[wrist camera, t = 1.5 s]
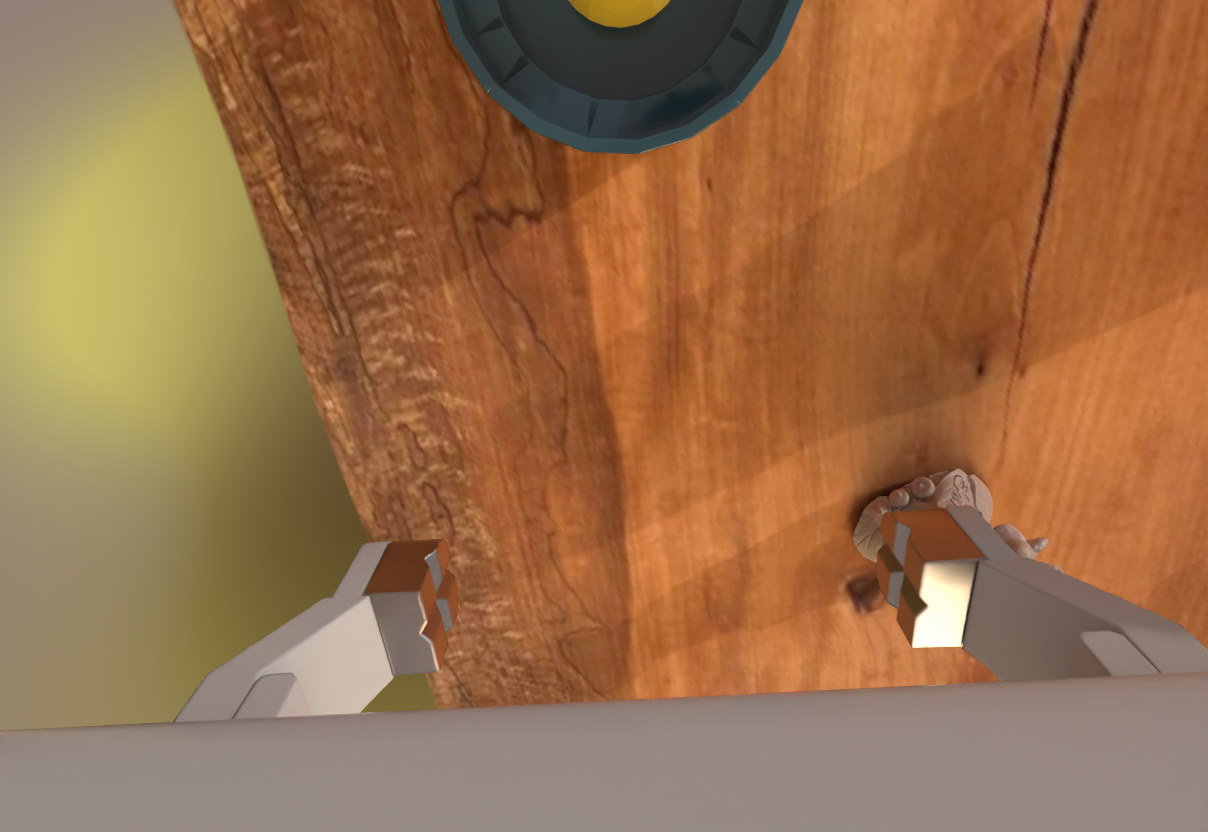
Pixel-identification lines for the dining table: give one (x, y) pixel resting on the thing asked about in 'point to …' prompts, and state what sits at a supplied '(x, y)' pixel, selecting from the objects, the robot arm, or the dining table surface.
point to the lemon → (618, 11)
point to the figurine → (934, 495)
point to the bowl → (619, 66)
